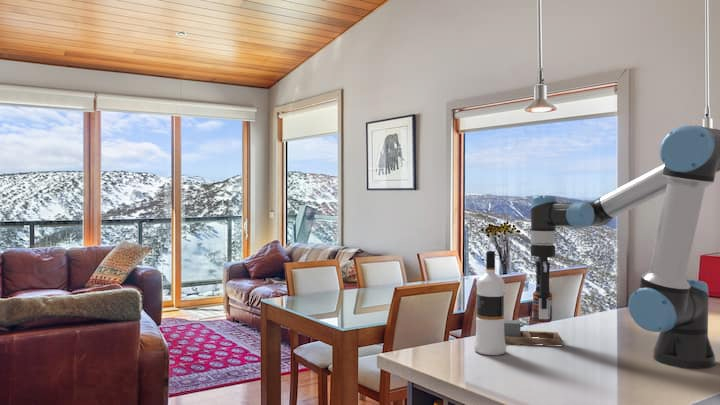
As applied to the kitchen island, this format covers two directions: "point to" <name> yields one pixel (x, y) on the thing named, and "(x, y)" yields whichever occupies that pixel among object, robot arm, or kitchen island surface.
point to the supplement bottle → (536, 306)
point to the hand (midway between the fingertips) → (542, 316)
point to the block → (512, 328)
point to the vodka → (490, 311)
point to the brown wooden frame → (526, 338)
